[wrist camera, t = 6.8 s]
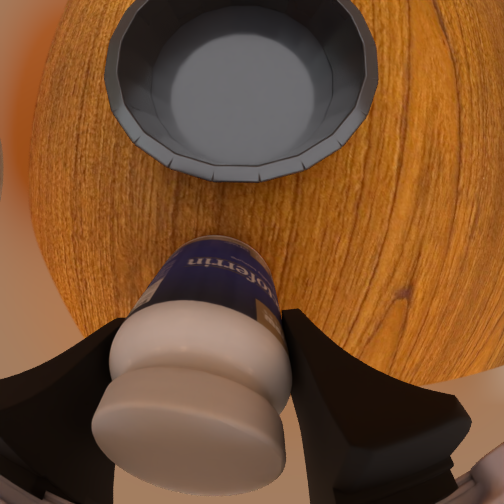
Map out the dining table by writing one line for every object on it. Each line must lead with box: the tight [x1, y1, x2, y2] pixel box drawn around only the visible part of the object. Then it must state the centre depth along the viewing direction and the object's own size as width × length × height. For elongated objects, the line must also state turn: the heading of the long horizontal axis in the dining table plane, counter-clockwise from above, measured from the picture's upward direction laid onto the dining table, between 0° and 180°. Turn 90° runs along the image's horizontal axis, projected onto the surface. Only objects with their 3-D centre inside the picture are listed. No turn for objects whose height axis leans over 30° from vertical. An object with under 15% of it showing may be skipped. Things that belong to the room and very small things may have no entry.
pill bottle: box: [92, 235, 292, 496], centre depth 9 cm, size 6×6×10 cm
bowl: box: [104, 0, 378, 183], centre depth 10 cm, size 10×10×4 cm
